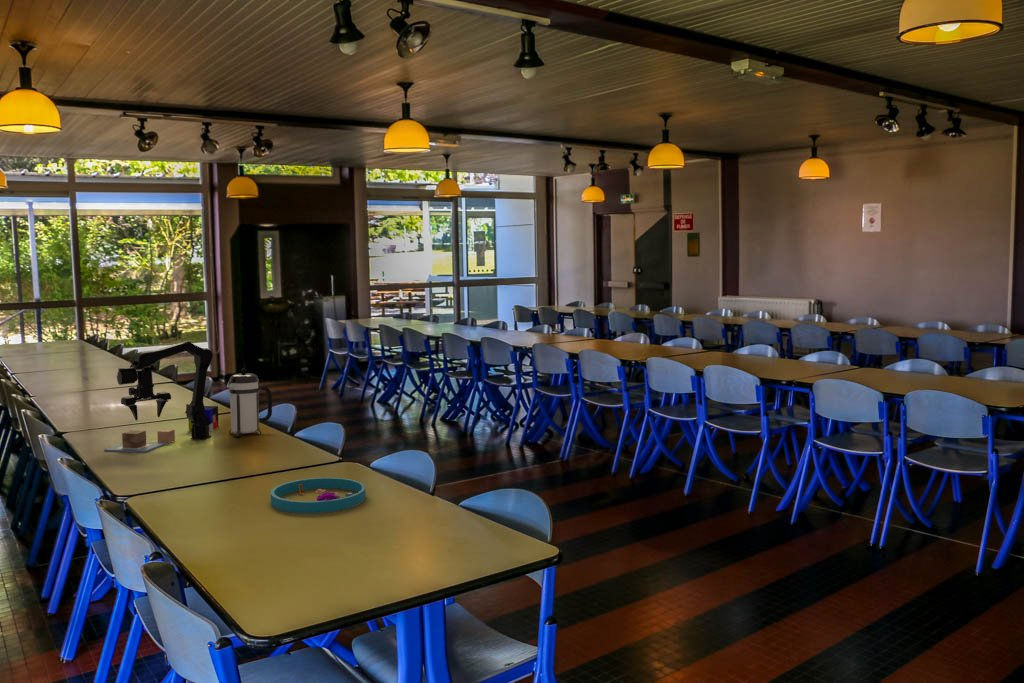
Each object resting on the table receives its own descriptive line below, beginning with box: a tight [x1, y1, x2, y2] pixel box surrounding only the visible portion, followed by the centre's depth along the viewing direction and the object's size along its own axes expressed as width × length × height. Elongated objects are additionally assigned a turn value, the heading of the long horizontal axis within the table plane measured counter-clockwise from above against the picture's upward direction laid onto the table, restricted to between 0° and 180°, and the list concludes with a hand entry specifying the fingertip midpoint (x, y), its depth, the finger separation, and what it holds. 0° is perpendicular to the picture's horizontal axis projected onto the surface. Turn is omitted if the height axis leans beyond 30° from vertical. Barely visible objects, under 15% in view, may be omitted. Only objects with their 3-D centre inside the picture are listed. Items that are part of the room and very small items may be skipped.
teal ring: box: [270, 477, 367, 514], centre depth 269 cm, size 30×30×6 cm
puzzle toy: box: [187, 405, 220, 432], centre depth 384 cm, size 10×10×10 cm
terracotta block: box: [157, 428, 176, 444], centre depth 356 cm, size 5×5×5 cm
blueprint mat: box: [103, 441, 168, 454], centre depth 344 cm, size 18×16×1 cm
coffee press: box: [226, 367, 273, 438], centre depth 372 cm, size 17×16×30 cm
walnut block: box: [121, 429, 147, 448], centre depth 343 cm, size 6×6×6 cm
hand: (147, 418), depth 348 cm, fingers open, 9 cm apart
